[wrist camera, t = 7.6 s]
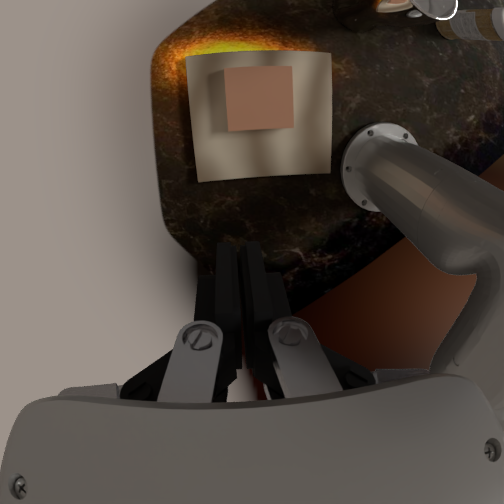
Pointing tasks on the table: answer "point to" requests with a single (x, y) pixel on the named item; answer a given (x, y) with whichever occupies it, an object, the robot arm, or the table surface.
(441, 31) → the sprinkles bottle
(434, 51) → the table surface
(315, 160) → the board
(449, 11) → the beer glass
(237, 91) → the tile
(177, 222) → the table surface
